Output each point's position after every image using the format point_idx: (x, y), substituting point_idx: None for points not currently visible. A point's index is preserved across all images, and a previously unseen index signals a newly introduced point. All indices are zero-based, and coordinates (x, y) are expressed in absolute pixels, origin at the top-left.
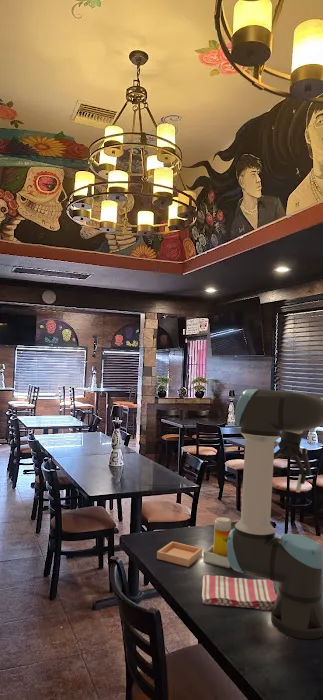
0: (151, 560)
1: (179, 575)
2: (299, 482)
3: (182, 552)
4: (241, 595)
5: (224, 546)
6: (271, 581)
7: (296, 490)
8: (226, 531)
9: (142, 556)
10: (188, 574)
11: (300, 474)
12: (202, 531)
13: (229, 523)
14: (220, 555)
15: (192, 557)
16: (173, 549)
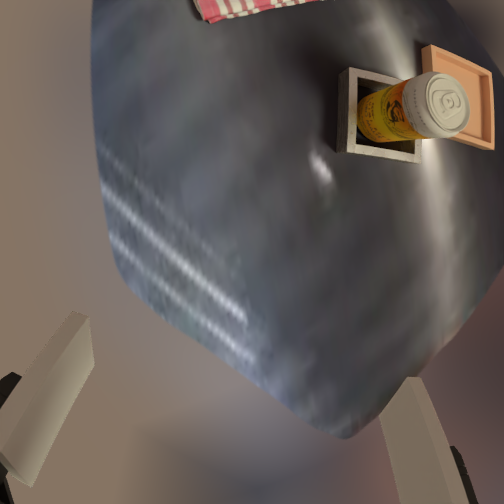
0: (482, 62)
1: (414, 4)
2: (25, 373)
3: None
4: None
5: (384, 89)
6: (202, 4)
7: (77, 321)
8: (408, 81)
9: (499, 78)
10: (403, 12)
11: (10, 464)
12: (449, 304)
13: (419, 87)
14: (378, 77)
15: (431, 67)
16: (478, 126)
